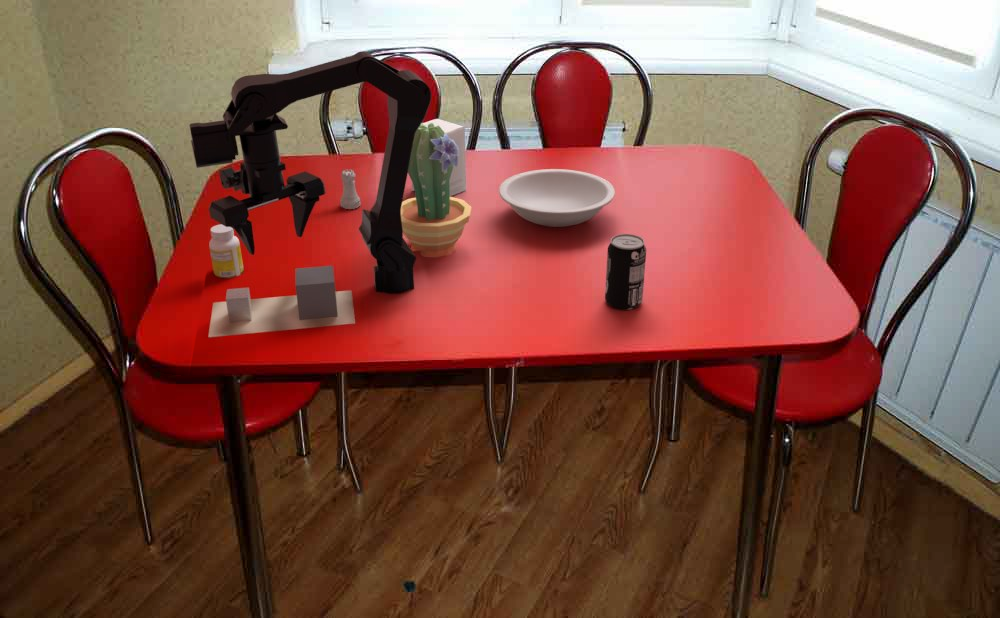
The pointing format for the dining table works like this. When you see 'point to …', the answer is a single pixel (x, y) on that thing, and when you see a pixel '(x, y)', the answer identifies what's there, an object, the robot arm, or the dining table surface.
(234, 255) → the supplement bottle
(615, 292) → the beverage can
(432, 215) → the potted cactus
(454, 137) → the supplement box
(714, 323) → the dining table surface
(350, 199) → the rook chess piece
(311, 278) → the gray matte cube
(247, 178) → the robot arm
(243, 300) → the brushed metal cube
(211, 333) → the board
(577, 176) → the soup bowl
